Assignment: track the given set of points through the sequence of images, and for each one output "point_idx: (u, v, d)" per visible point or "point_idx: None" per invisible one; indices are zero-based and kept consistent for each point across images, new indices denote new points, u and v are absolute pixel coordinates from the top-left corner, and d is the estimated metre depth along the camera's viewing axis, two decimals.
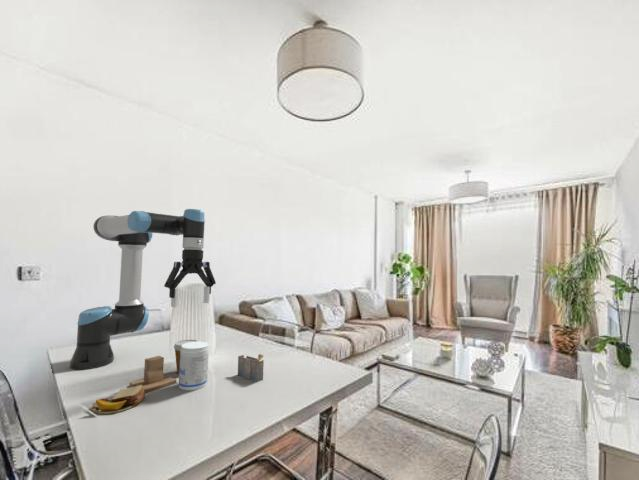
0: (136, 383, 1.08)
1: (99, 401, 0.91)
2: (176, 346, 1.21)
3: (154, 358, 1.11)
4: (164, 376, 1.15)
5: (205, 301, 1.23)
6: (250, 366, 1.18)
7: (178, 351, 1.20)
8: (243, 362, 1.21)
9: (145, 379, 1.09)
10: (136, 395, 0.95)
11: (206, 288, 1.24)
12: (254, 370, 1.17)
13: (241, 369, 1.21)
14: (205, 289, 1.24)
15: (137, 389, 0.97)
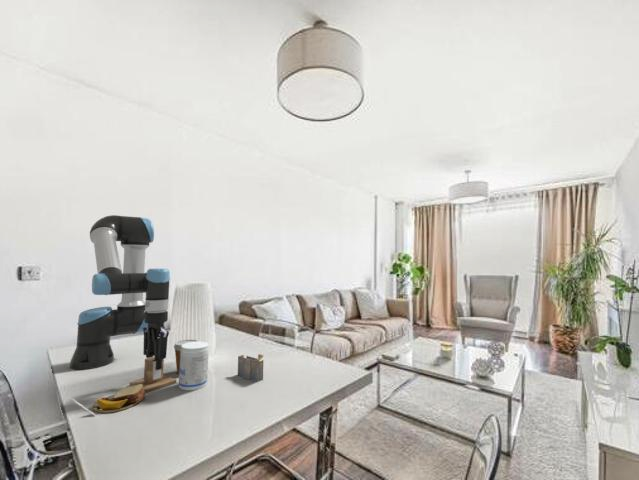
0: (136, 383, 1.08)
1: (100, 400, 0.92)
2: (176, 346, 1.21)
3: (154, 358, 1.11)
4: (164, 376, 1.15)
5: None
6: (250, 366, 1.18)
7: (178, 351, 1.20)
8: (243, 362, 1.21)
9: (145, 379, 1.09)
10: (137, 394, 0.96)
11: None
12: (254, 370, 1.17)
13: (241, 369, 1.21)
14: None
15: (137, 388, 0.98)
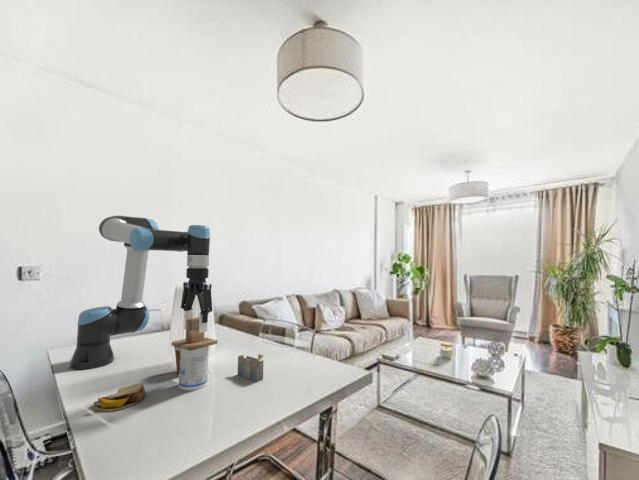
0: (179, 342, 1.09)
1: (101, 399, 0.92)
2: None
3: (195, 318, 1.12)
4: (204, 338, 1.16)
5: None
6: (250, 366, 1.18)
7: (178, 351, 1.20)
8: (243, 362, 1.21)
9: (187, 339, 1.10)
10: (138, 392, 0.97)
11: None
12: (254, 370, 1.17)
13: (241, 369, 1.21)
14: None
15: (138, 387, 0.99)
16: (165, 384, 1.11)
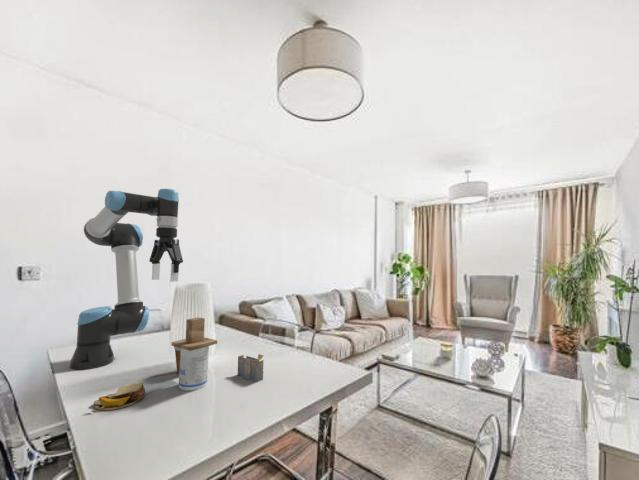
0: (179, 343, 1.09)
1: (102, 398, 0.93)
2: None
3: (195, 318, 1.12)
4: (204, 338, 1.16)
5: None
6: (250, 366, 1.18)
7: (178, 351, 1.20)
8: (243, 362, 1.21)
9: (187, 339, 1.10)
10: (139, 391, 0.98)
11: None
12: (254, 370, 1.17)
13: (241, 369, 1.21)
14: None
15: (138, 386, 1.00)
16: (165, 384, 1.11)
